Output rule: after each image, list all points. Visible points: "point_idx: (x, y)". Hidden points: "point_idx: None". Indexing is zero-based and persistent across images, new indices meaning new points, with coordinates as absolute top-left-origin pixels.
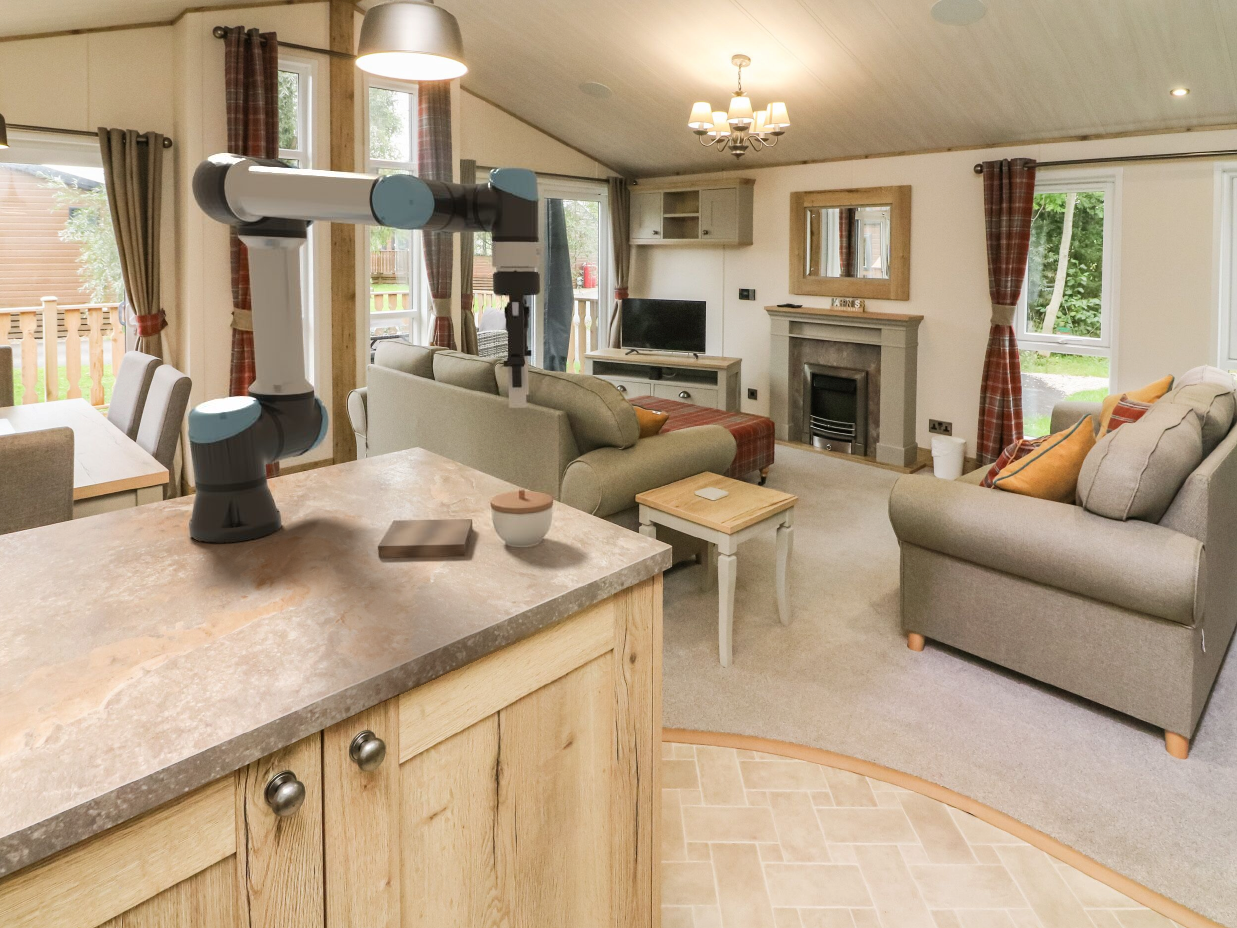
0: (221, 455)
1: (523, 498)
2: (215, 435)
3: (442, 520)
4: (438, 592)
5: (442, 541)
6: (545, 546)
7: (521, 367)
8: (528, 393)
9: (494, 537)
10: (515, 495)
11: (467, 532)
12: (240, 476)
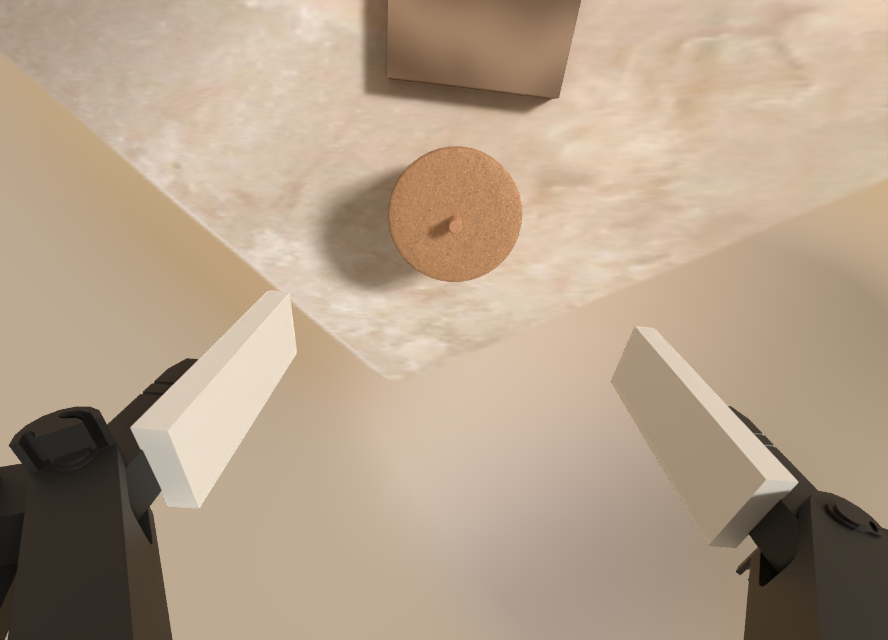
0: None
1: (448, 225)
2: None
3: (570, 14)
4: (194, 20)
5: (410, 19)
6: None
7: (164, 486)
8: (613, 384)
9: (490, 146)
10: (479, 209)
11: (463, 85)
12: None
